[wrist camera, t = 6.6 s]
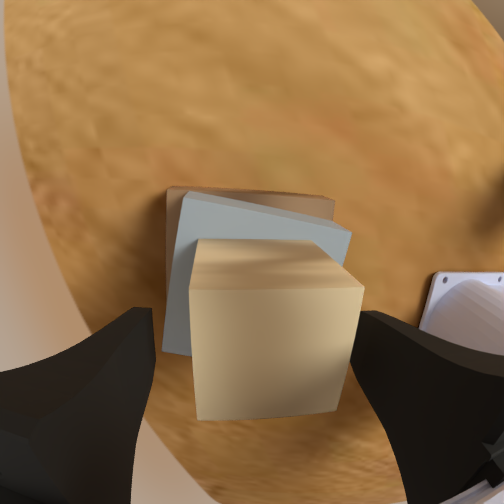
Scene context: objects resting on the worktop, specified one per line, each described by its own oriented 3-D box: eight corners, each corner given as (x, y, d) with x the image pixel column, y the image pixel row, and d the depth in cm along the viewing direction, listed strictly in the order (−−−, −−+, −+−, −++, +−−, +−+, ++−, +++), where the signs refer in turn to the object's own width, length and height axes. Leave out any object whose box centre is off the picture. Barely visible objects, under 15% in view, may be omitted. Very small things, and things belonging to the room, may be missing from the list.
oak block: (311, 240, 13) (364, 287, 8) (300, 336, 14) (336, 410, 9) (198, 238, 12) (188, 289, 7) (200, 338, 13) (197, 420, 9)
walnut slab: (319, 194, 17) (335, 200, 15) (301, 322, 20) (312, 343, 17) (174, 185, 16) (167, 189, 14) (173, 319, 19) (168, 341, 16)
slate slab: (331, 221, 15) (352, 232, 13) (295, 342, 17) (306, 369, 15) (189, 190, 14) (183, 197, 12) (168, 324, 16) (161, 351, 13)
